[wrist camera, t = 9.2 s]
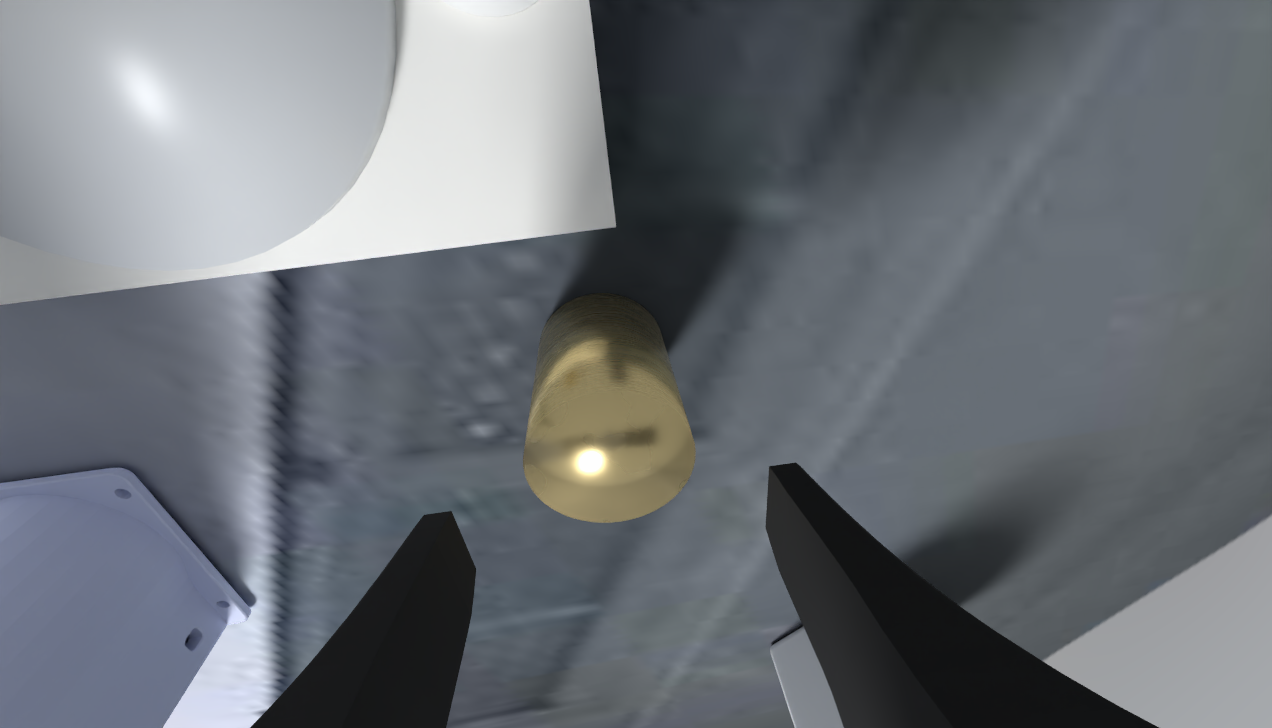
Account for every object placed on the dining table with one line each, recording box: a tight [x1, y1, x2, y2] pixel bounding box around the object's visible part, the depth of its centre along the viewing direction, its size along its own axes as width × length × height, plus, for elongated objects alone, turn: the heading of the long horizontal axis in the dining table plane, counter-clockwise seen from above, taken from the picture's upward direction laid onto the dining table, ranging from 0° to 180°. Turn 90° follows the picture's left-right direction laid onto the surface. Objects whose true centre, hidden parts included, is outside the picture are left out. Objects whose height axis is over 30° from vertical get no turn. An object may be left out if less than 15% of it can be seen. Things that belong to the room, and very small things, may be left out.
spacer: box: [523, 293, 695, 523], centre depth 16 cm, size 4×4×6 cm
